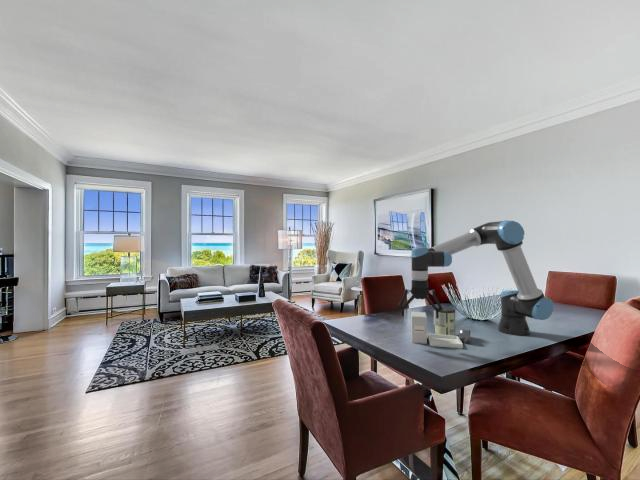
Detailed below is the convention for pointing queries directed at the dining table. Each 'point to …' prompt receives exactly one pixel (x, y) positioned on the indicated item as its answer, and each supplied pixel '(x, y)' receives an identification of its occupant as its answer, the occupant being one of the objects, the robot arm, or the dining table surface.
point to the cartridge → (464, 336)
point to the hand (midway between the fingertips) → (419, 324)
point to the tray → (445, 341)
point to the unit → (419, 327)
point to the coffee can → (445, 322)
